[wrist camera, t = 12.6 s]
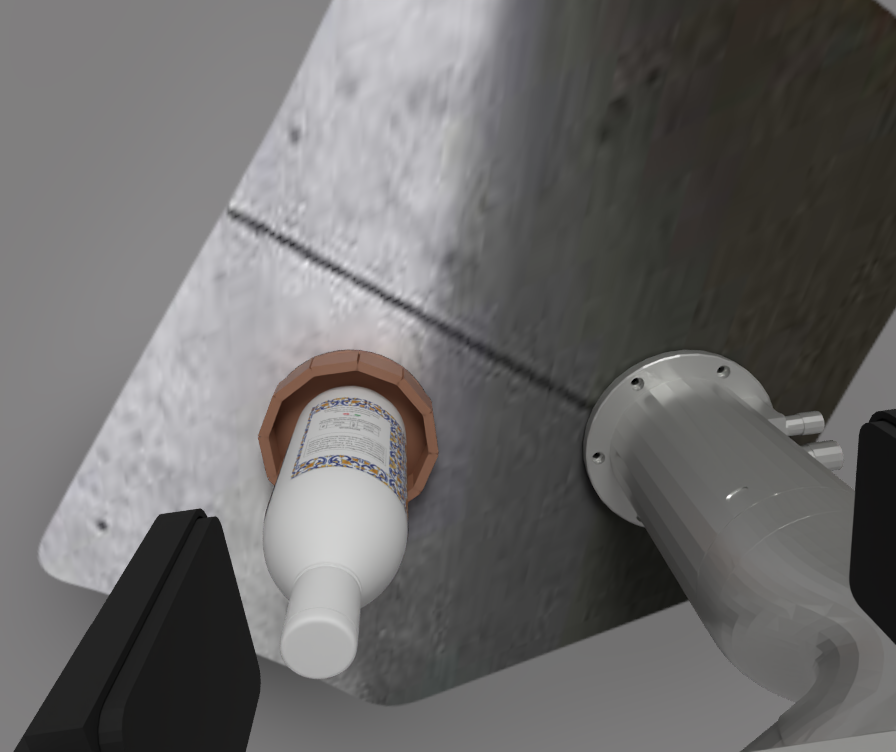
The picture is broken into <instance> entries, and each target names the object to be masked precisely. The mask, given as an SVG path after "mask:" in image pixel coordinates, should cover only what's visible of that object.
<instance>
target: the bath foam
mask: <svg viewBox="0 0 896 752" xmlns="http://www.w3.org/2000/svg"><path fill="white" fill-rule="evenodd" d="M407 539H408V486H407V446H406V431H405V426H404V423H403V420H402V417H401V415H400V414H399V412H398V410H397V409H396V408H395V406H394V405H393V404H392V403H391V402H390V401H389V400H387V399H386V398H385V397H383V396H382V395H380V394H379V393H377V392H375V391H373V390H371V389H368V388H364V387H359V386H341V387H336V388H332V389H329V390H327V391H324V392H323V393H321V394H319V395H318V396H316V397H315V398H314V399H312V400H311V401H310V402H309V403H308V404H307V405H306V407H305V408H304V409H303V411H302V413H301V414H300V416H299V419H298V421H297V424H296V427H295V430H294V433H293V435H292V436H291V439H290V442H289V445H288V448H287V451H286V454H285V457H284V460H283V463H282V466H281V468H280V471H279V474H278V477H277V480H276V483H275V486H274V489H273V492H272V495H271V498H270V501H269V504H268V506H267V509H266V513H265V519H264V528H263V550H264V556H265V561H266V564H267V567H268V570H269V573H270V575H271V577H272V579H273V581H274V582H275V584H276V586H277V587H278V588H279V590H280V591H281V592H282V593H283V595H284V596H285V597H286V598H287V599H288V600H289V605H288V609H287V613H286V617H285V622H284V626H283V631H282V635H281V640H280V652H281V656H282V658H283V660H284V662H285V664H286V665H287V666H288V667H289V668H290V669H291V670H292V671H294V672H295V673H297V674H299V675H301V676H303V677H306V678H311V679H326V678H331V677H334V676H336V675H338V674H340V673H342V672H343V671H345V670H346V669H347V668H348V667H349V666H350V665H351V663H352V662H353V660H354V658H355V656H356V652H357V647H358V636H359V623H360V610H361V608H363V607H364V606H366V605H368V604H369V603H370V602H372V601H373V600H374V599H376V598H377V597H378V596H379V595H380V594H381V593H382V592H383V591H384V590H385V589H386V588H387V587H388V585H389V584H390V583H391V581H392V580H393V578H394V577H395V575H396V573H397V571H398V569H399V567H400V565H401V562H402V559H403V556H404V553H405V549H406V544H407Z"/></svg>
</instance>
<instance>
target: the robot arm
mask: <svg viewBox="0 0 896 752" xmlns="http://www.w3.org/2000/svg"><path fill="white" fill-rule="evenodd" d="M719 367H721V369H720V370H718V369H719ZM717 370H718V371H717ZM635 378H637V380H636V381H635V382H634V383H631V381H632V380H633V379H635ZM823 430H824V419H823V417H822V415H821V413H820V412H818V411H812V412H805V413H798V414H796V415H791V416H784V415H783V414H781V413H778V412H777V411H775V410H774V409H773V407H772V404H771V401H770V398H769V396H768V394H767V393H766V391H765V390H764V388H763V387H762V385H761V384H760V382H759V381H758V380H757V379H756V378H755V377H754V376H753V375H752V374H750V373H749V372H748V371H747V370H746V369H744V368H743V367H742V366H740V365H739V364H737V363H736V362H734V361H732V360H730V359H728V358H726V357H723V356H721V355H719V354H714V353H710V352H706V351H699V350H680V351H673V352H666V353H663V354H659V355H656V356H653V357H650V358H647V359H645V360H644V361H642V362H640V363H638V364H636V365H634V366H632V367H630V368H629V369H628V370H627V371H625V372H624V373H623V374H621V375H620V376H619V377H618V378H616V379H615V380H614V381H613V382H612V383H611V384H610V386H609V387H608V388H607V389H606V390H605V391H604V392H603V393H602V395H601V396H600V398H599V400H598V401H597V403H596V404H595V406H594V408H593V409H592V412H591V414H590V417H589V419H588V422H587V425H586V429H585V435H584V440H583V459H584V463H585V467H586V471H587V475H588V477H589V479H590V481H591V483H592V485H593V487H594V489H595V491H596V492H597V494H598V495H599V497H600V499H601V500H602V501H603V502H604V503H605V504H606V505H607V506H608V507H609V508H610V509H611V510H612V511H613V512H614V513H616V514H617V515H619V516H620V517H622V518H623V519H625V520H626V521H628V522H631V523H633V524H635V525H638V526H641V527H645V528H646V530H647V532H648V533H649V535H650V537H651V538H652V540H653V542H654V543H655V545H656V546H657V548H658V550H659V551H660V553H661V555H662V556H663V558H664V560H665V561H666V563H667V565H668V566H669V568H670V570H671V571H672V573H673V575H674V576H675V578H676V579H677V581H678V583H679V584H680V586H681V588H682V589H683V591H684V593H685V594H686V596H687V598H688V599H689V601H690V603H691V604H692V606H693V607H694V609H695V611H696V612H697V614H698V616H699V617H700V619H701V621H702V622H703V624H704V626H705V627H706V629H707V630H708V632H709V633H710V635H711V637H712V638H713V640H714V642H715V643H716V645H717V646H718V647H719V649H720V650H721V651H722V653H723V654H724V655H725V657H726V658H727V659H728V660H729V661H730V662H731V663H732V664H733V665H734V666H735V667H736V668H737V669H738V670H739V671H740V672H742V673H743V674H744V675H746V676H747V677H748V678H750V679H751V680H753V681H754V682H755V683H757V684H758V685H760V686H761V687H763V688H765V689H767V690H768V691H770V692H772V693H775V694H777V695H779V696H781V697H783V698H786V699H788V700H790V701H793V702H795V704H794V705H793V706H792V707H791V708H790V709H789V710H787V711H786V712H785V713H784V714H782V715H781V716H780V717H779V720H778V721H777V722H776V723H774V724H773V725H772V726H771V727H770V728H769V729H767V730H766V731H765V732H764V733H762V734H761V735H760V736H759V737H757V738H756V739H755V740H754V741H753V742H751V743H750V744H749V745H748V746H747V747H745V748H744V749H743V750H742V751H740V752H896V409H892V410H885V411H878V412H876V413H875V414H873V415H872V417H871V419H870V420H869V423H865V424H864V425H863V426H862V427H861V429H860V433H859V443H858V458H857V471H856V486H855V490H854V489H852V488H851V487H850V486H848V485H847V484H846V483H845V482H844V481H842V480H841V479H840V478H839V477H837V476H836V475H835V474H834V473H833V472H831V471H834V470H840V469H841V468H842V467H843V462H844V458H843V452H842V450H841V448H840V446H839V445H838V443H837V442H836V441H833V440H830V441H822V442H815V443H808V444H804V445H803V446H799V445H798V444H797V443H796V442H794V441H793V440H792V439H791V438H789V437H788V436H793V435H807V434H814V433H821V432H822V431H823ZM597 452H598V454H597V455H595V456H594V454H595V453H597ZM260 684H261V682H260V670H259V665H258V661H257V657H256V653H255V649H254V646H253V642H252V638H251V634H250V631H249V627H248V623H247V619H246V616H245V612H244V608H243V604H242V601H241V597H240V593H239V589H238V585H237V582H236V578H235V574H234V570H233V567H232V563H231V559H230V555H229V552H228V548H227V544H226V540H225V536H224V533H223V529H222V526H221V523H220V521H219V519H218V518H217V517H216V516H215V517H208V518H207V515H206V514H205V512H204V511H203V510H202V509H194V510H187V511H180V512H173V513H166V514H160V515H159V516H158V517H157V518H156V520H155V521H154V523H153V525H152V526H151V528H150V530H149V531H148V533H147V534H146V536H145V538H144V539H143V541H142V543H141V544H140V546H139V548H138V549H137V551H136V553H135V554H134V556H133V557H132V559H131V561H130V562H129V564H128V566H127V567H126V569H125V571H124V572H123V574H122V575H121V577H120V579H119V580H118V582H117V584H116V585H115V587H114V589H113V590H112V592H111V594H110V595H109V597H108V599H107V600H106V602H105V603H104V605H103V607H102V608H101V610H100V612H99V613H98V615H97V616H96V618H95V620H94V621H93V623H92V624H91V626H90V627H89V629H88V631H87V632H86V634H85V635H84V637H83V639H82V640H81V642H80V644H79V645H78V647H77V648H76V650H75V652H74V653H73V655H72V657H71V658H70V660H69V662H68V663H67V665H66V667H65V668H64V670H63V671H62V673H61V675H60V676H59V678H58V680H57V681H56V683H55V685H54V686H53V688H52V689H51V691H50V693H49V694H48V696H47V698H46V699H45V701H44V702H43V704H42V706H41V707H40V709H39V711H38V712H37V714H36V716H35V717H34V719H33V721H32V722H31V724H30V725H29V727H28V729H27V730H26V732H25V734H24V735H23V737H22V739H21V741H20V742H19V743H18V745H17V747H16V749H15V750H14V752H246V748H247V744H248V740H249V736H250V732H251V727H252V723H253V719H254V715H255V711H256V707H257V703H258V699H259V694H260Z"/></svg>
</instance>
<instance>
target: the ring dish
mask: <svg viewBox="0 0 896 752" xmlns="http://www.w3.org/2000/svg"><path fill="white" fill-rule="evenodd" d="M341 386H359V387H364V388H368V389H371V390H373V391H375V392H377V393H379V394H380V395H382V396H383V397H385V398H386V399H387V400H389V401H390V402H391V403H392V404H393V405H394V406H395V408H396V409H397V410H398V412H399V414H400V415H401V417H402V420H403V423H404V426H405V431H406V446H407V486H408V502H409V501H410V500H412V499H413V498H415V497H416V496H417V495H419V494H420V491H421V492H422V490H423V488H424V486H425V484H426V481H427V479H428V477H429V475H430V472H431V470H432V468H433V466H434V464H435V461H436V459H437V457H438V453H439V452H438V444H437V436H436V430H435V423H434V416H433V409H432V402H431V399H430V398H429V397H428V396H427V394H426V393H425V391H424V389H423V388H422V386H421V385H420V383H419V382H418V381H417V380H416V378H415V377H414V376H413V375H412V374H411V373H410V372H409V371H407V370H406V369H405V368H404V367H402V366H401V365H399V364H398V363H396V362H394V361H393V360H391V359H389V358H386V357H384V356H382V355H379V354H376V353H372V352H367V351H362V350H338V351H333V352H328V353H324V354H321V355H318V356H315V357H314V358H313V357H312V358H311V359H310V360H308V361H306V362H304V363H303V364H301V365H300V366H298V367H297V368H296V369H295V370H293V371H292V372H291V373H290V374H289V375H288V376H287V377H286V378H285V379H284V380H283V381H281V382H280V383H279V384H278V386H277V388H276V390H275V392H274V394H273V396H272V399H271V402H270V405H269V407H268V410H267V413H266V416H265V418H264V421H263V424H262V426H261V429H260V432H259V435H258V436H259V437H258V440H259V444H260V448H261V453H262V457H263V461H264V465H265V470H266V474H267V478H268V477H269V479H268V480H269V481H270V482H271V483H272V484H273V485H274V486H275V483H276V480H277V477H278V474H279V471H280V468H281V466H282V463H283V460H284V457H285V454H286V451H287V448H288V445H289V442H290V439H291V436H292V435H293V433H294V430H295V427H296V424H297V421H298V419H299V416H300V414H301V413H302V411H303V409H304V408H305V407H306V405H307V404H308V403H309V402H310V401H311V400H312V399H314V398H315V397H316V396H318V395H319V394H321V393H323V392H324V391H327V390H329V389H332V388H336V387H341Z"/></svg>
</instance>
